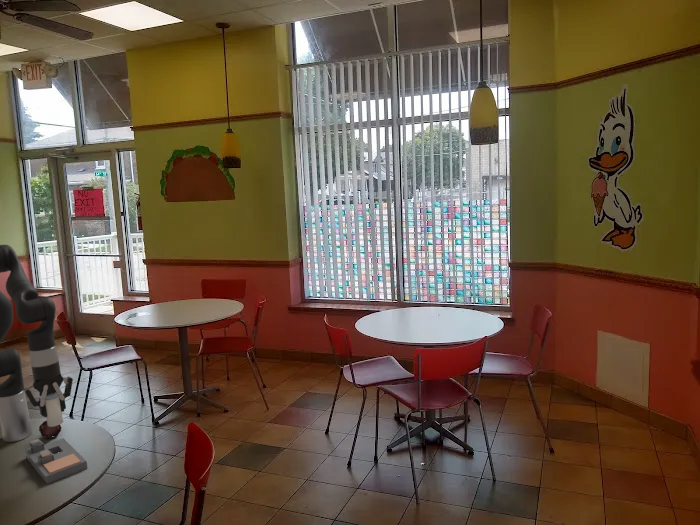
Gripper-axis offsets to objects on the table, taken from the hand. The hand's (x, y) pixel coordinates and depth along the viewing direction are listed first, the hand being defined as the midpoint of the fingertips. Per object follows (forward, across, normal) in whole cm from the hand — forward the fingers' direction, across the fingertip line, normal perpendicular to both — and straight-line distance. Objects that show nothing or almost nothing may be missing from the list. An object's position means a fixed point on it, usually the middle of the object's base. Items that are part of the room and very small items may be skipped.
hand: (53, 413), depth 174 cm
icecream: (+20, -5, -32) cm, 38 cm away
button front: (+17, +3, -7) cm, 18 cm away
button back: (+17, +3, -19) cm, 25 cm away
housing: (+19, 0, -8) cm, 21 cm away
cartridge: (+3, 0, 0) cm, 3 cm away
